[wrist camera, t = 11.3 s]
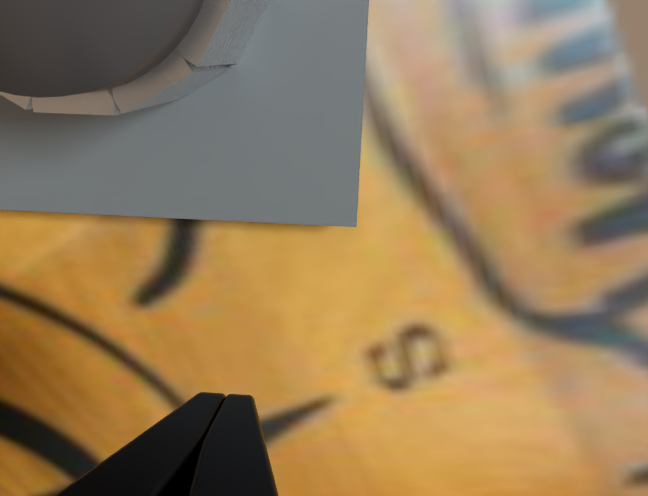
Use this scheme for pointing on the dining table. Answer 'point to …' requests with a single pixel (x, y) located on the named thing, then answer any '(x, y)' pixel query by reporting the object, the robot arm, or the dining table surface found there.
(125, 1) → the knob
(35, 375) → the dining table surface
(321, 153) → the mount plate
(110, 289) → the dining table surface
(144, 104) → the faceted ring
